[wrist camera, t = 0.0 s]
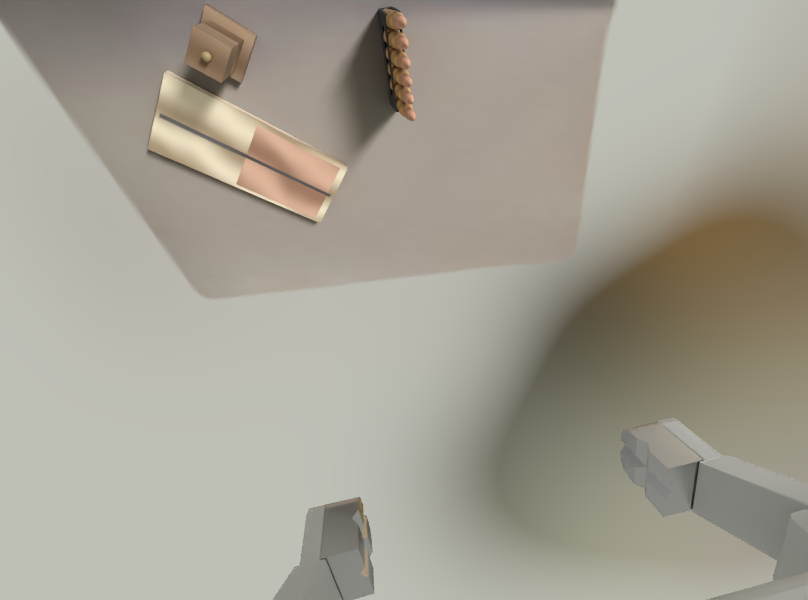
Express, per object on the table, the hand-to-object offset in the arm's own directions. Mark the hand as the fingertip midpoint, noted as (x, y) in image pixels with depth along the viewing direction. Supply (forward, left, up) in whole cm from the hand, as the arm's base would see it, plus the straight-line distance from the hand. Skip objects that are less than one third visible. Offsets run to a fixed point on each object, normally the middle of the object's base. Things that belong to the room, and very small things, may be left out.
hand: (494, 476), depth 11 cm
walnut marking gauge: (+2, -16, -52) cm, 55 cm away
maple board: (+13, -9, -52) cm, 55 cm away
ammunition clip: (-7, +2, -52) cm, 53 cm away
